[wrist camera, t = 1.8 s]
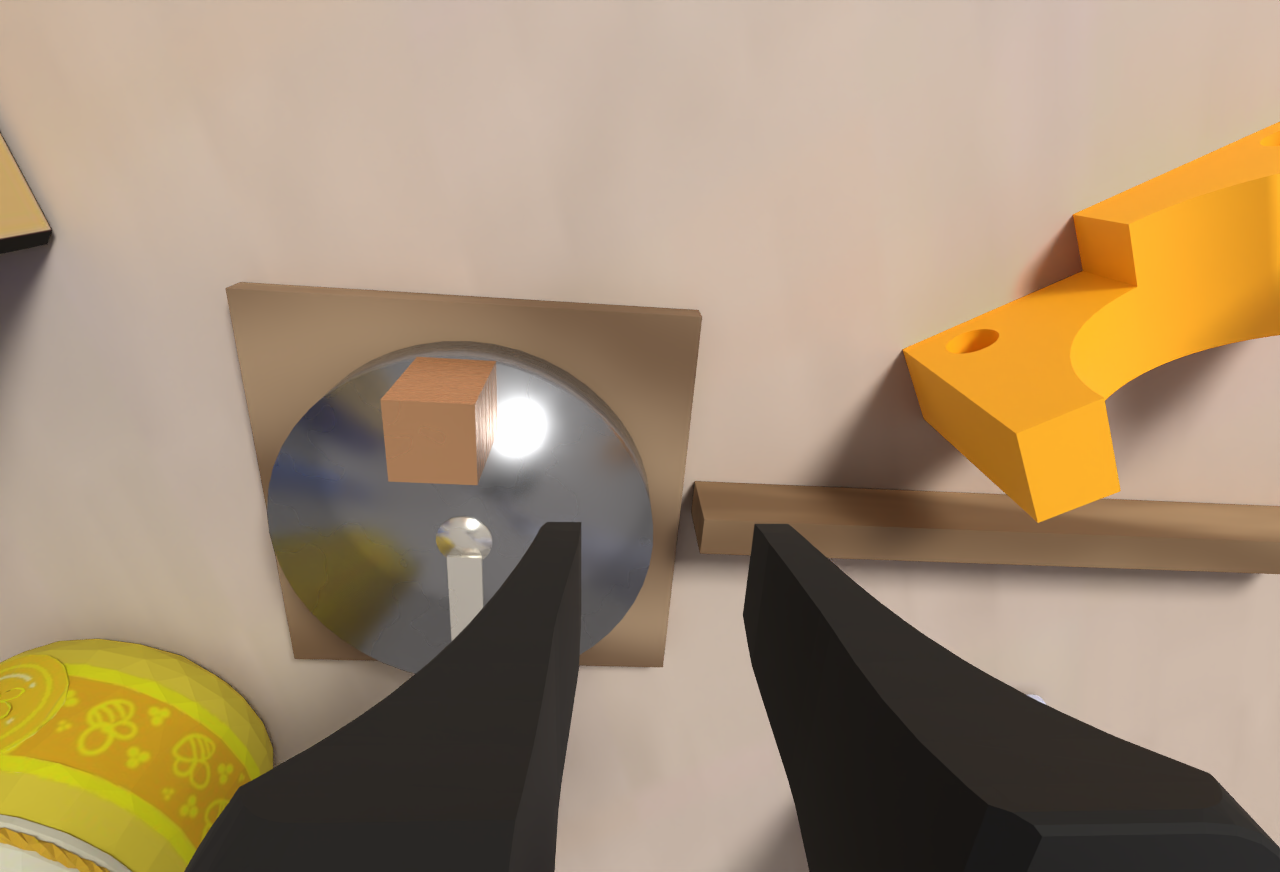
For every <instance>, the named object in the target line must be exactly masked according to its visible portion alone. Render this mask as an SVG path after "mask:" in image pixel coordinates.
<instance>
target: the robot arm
mask: <svg viewBox="0 0 1280 872" xmlns="http://www.w3.org/2000/svg"><path fill="white" fill-rule="evenodd" d="M743 618H744V624H745V630H746V636H747V642H748V647H749V652H750V658H751V663H752V667H753V670H754V674H755V677H756V680H757V684H758V687H759V690H760V693H761V696H762V700H763V703H764V706H765V709H766V712H767V715H768V718H769V722H770V725H771V728H772V731H773V734H774V737H775V740H776V743H777V747H778V750H779V753H780V756H781V759H782V762H783V765H784V768H785V772H786V775H787V778H788V781H789V785H790V788H791V792H792V796H793V799H794V803H795V807H796V811H797V815H798V820H799V825H800V829H801V834H802V839H803V843H804V848H805V853H806V857H807V862H808V867H809V872H1280V848H1279V846H1278V845H1277V844H1276V843H1275V842H1274V841H1273V840H1272V839H1271V838H1270V837H1269V836H1268V835H1267V834H1266V833H1265V832H1264V830H1263V829H1262V828H1261V827H1260V826H1259V825H1258V824H1257V823H1256V822H1255V821H1254V820H1253V819H1252V818H1251V817H1250V815H1249V814H1248V813H1247V812H1246V811H1245V810H1244V809H1243V808H1242V807H1241V806H1240V805H1239V804H1238V803H1237V802H1236V801H1235V799H1234V798H1233V797H1232V796H1231V795H1230V794H1229V793H1228V792H1227V791H1226V790H1225V789H1224V788H1223V787H1222V786H1221V785H1220V783H1219V782H1218V781H1217V780H1216V779H1215V778H1214V777H1213V776H1212V775H1211V774H1209V773H1207V772H1204V771H1202V770H1199V769H1197V768H1194V767H1192V766H1189V765H1186V764H1184V763H1181V762H1179V761H1176V760H1174V759H1171V758H1168V757H1166V756H1163V755H1161V754H1158V753H1156V752H1153V751H1151V750H1148V749H1145V748H1143V747H1140V746H1138V745H1135V744H1133V743H1130V742H1127V741H1125V740H1122V739H1120V738H1117V737H1115V736H1113V735H1110V734H1108V733H1106V732H1104V731H1101V730H1099V729H1097V728H1095V727H1093V726H1090V725H1088V724H1086V723H1084V722H1082V721H1079V720H1077V719H1075V718H1073V717H1071V716H1068V715H1066V714H1064V713H1062V712H1060V711H1058V710H1056V709H1054V708H1052V707H1050V706H1047V705H1046V703H1045V702H1044V701H1043V699H1042V698H1041V697H1040V696H1037V695H1025V694H1024V693H1022V692H1020V691H1018V690H1016V689H1014V688H1012V687H1011V686H1009V685H1007V684H1005V683H1003V682H1001V681H1000V680H998V679H996V678H994V677H992V676H990V675H989V674H987V673H985V672H983V671H981V670H980V669H978V668H976V667H975V666H973V665H971V664H969V663H968V662H966V661H964V660H963V659H961V658H960V657H958V656H956V655H955V654H953V653H952V652H950V651H949V650H947V649H946V648H944V647H942V646H941V645H939V644H938V643H936V642H935V641H933V640H931V639H930V638H928V637H927V636H925V635H924V634H922V633H921V632H920V631H918V630H917V629H915V628H914V627H912V626H911V625H910V624H908V623H907V622H905V621H904V620H903V619H901V618H900V617H899V616H897V615H896V614H895V613H893V612H892V611H891V610H889V609H888V608H887V607H885V606H884V605H883V604H881V603H880V602H879V601H878V600H876V599H875V598H874V597H873V596H871V595H870V594H869V593H868V592H866V591H865V590H864V589H863V588H862V587H860V586H859V585H858V584H857V583H855V582H854V581H853V580H852V579H851V578H850V577H848V576H847V575H846V574H845V573H844V572H843V571H841V570H840V569H839V568H838V567H837V566H836V565H835V564H833V563H832V562H831V561H830V560H829V559H828V558H827V557H826V556H824V555H823V554H822V553H821V552H820V551H819V550H818V549H817V548H815V547H814V546H813V545H812V544H811V543H810V542H809V541H808V540H807V539H805V538H804V537H803V536H802V535H801V534H800V533H799V532H797V531H796V530H795V529H794V528H793V527H792V526H790V525H789V524H754V532H753V540H752V548H751V556H750V564H749V572H748V580H747V587H746V595H745V603H744V611H743ZM580 636H581V522H546V523H545V524H544V525H543V526H542V527H540V529H539V531H538V533H537V535H536V537H535V538H534V540H533V542H532V543H531V545H530V547H529V548H528V550H527V551H526V553H525V554H524V556H523V557H522V559H521V560H520V562H519V563H518V564H517V566H516V567H515V568H514V570H513V571H512V572H511V574H510V575H509V576H508V578H507V579H506V580H505V582H504V583H503V584H502V586H501V587H500V588H499V590H498V591H497V592H496V593H495V594H494V596H493V597H492V598H491V599H490V600H489V601H488V603H487V604H486V605H485V606H484V607H483V608H482V609H481V611H480V612H479V613H478V614H477V615H476V616H475V617H474V619H473V620H472V621H471V622H470V623H469V624H468V625H467V626H466V627H465V628H464V629H463V630H462V631H461V632H460V634H459V635H458V636H457V637H456V638H455V639H454V640H453V641H452V642H451V643H449V644H448V645H447V646H446V647H445V648H444V649H443V650H442V651H441V652H440V653H439V654H438V655H437V656H436V657H435V658H433V659H432V660H431V661H430V662H429V663H428V664H427V665H425V666H424V667H423V668H422V669H421V670H420V671H418V672H417V673H416V674H415V675H414V676H412V677H411V678H410V679H409V680H408V681H406V682H405V683H404V684H403V685H401V686H400V687H399V688H398V689H396V690H395V691H394V692H393V693H391V694H390V695H389V696H388V697H386V698H385V699H383V700H382V701H381V702H379V703H378V704H376V705H375V706H374V707H372V708H371V709H369V710H368V711H366V712H365V713H364V714H362V715H361V716H359V717H358V718H356V719H355V720H353V721H352V722H350V723H349V724H347V725H346V726H344V727H342V728H341V729H339V730H338V731H336V732H335V733H333V734H332V735H330V736H329V737H327V738H325V739H324V740H322V741H320V742H319V743H317V744H316V745H314V746H312V747H310V748H309V749H307V750H305V751H303V752H302V753H300V754H298V755H296V756H294V757H293V758H291V759H289V760H287V761H286V762H284V763H282V764H280V765H279V766H277V767H275V768H273V769H271V770H270V771H268V772H266V773H264V774H263V775H261V776H259V777H257V778H255V779H253V780H252V781H250V782H248V783H246V784H244V785H242V786H240V787H239V788H238V789H237V791H236V792H235V794H234V796H233V797H232V799H231V800H230V802H229V803H228V804H227V806H226V807H225V808H224V810H223V811H222V813H221V814H220V815H219V817H218V818H217V819H216V821H215V822H214V823H213V825H212V826H211V828H210V830H209V831H208V833H207V834H206V836H205V837H204V839H203V840H202V842H201V843H200V845H199V847H198V848H197V850H196V852H195V853H194V855H193V857H192V859H191V860H190V862H189V864H188V866H187V867H186V869H185V871H184V872H554V870H555V853H556V837H557V821H558V808H559V799H560V790H561V782H562V776H563V769H564V763H565V756H566V750H567V743H568V737H569V730H570V724H571V717H572V711H573V704H574V697H575V691H576V684H577V677H578V671H579V659H580Z"/></svg>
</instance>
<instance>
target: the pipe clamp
mask: <svg viewBox="0 0 1280 872" xmlns="http://www.w3.org/2000/svg"><path fill="white" fill-rule="evenodd" d="M1073 218H1074V224H1075V229H1076V235H1077V241H1078V247H1079V252H1080V258H1081V264H1082V270H1083V271H1081V272H1079V273H1077V274H1074V275H1072V276H1070V277H1067V278H1065V279H1063V280H1061V281H1058V282H1056V283H1054V284H1051V285H1049V286H1047V287H1045V288H1042V289H1040V290H1038V291H1035V292H1033V293H1031V294H1028V295H1026V296H1024V297H1022V298H1019V299H1017V300H1015V301H1012V302H1010V303H1008V304H1006V305H1003V306H1001V307H999V308H996V309H994V310H992V311H989V312H987V313H985V314H983V315H980V316H978V317H976V318H973V319H971V320H969V321H967V322H964V323H962V324H960V325H957V326H955V327H953V328H951V329H948V330H946V331H944V332H941V333H939V334H937V335H934V336H932V337H930V338H928V339H925V340H923V341H921V342H918V343H916V344H914V345H912V346H909V347H907V348H905V349H902V350H903V353H904V356H905V359H906V363H907V366H908V369H909V372H910V376H911V379H912V382H913V385H914V389H915V392H916V395H917V398H918V402H919V405H920V408H921V411H922V415H923V418H924V420H925V421H927V422H928V423H929V424H930V425H931V426H932V427H933V428H934V429H935V430H936V431H938V432H939V433H940V434H941V435H942V436H943V437H944V438H945V439H946V440H947V441H949V442H950V443H951V444H952V445H953V446H954V447H955V448H956V449H957V450H958V451H960V452H961V453H962V454H963V455H964V456H965V457H966V458H967V459H968V460H969V461H970V462H972V463H973V464H974V465H975V466H976V467H977V468H978V469H979V470H980V471H981V472H983V473H984V474H985V475H986V476H987V477H988V478H989V479H990V480H991V481H992V482H994V483H995V484H996V485H997V486H998V487H999V488H1000V489H1001V490H1002V491H1003V492H1005V493H1006V494H1007V495H1008V496H1009V497H1010V498H1011V499H1012V500H1013V501H1014V502H1015V503H1017V504H1018V505H1019V506H1020V507H1021V508H1022V509H1023V510H1024V511H1025V512H1026V513H1028V514H1029V515H1030V516H1031V517H1032V518H1033V519H1034V520H1035V521H1036V522H1037V523H1039V522H1042V521H1044V520H1047V519H1050V518H1052V517H1055V516H1057V515H1060V514H1063V513H1065V512H1068V511H1070V510H1073V509H1076V508H1078V507H1081V506H1083V505H1086V504H1088V503H1091V502H1094V501H1096V500H1099V499H1101V498H1104V497H1107V496H1109V495H1112V494H1114V493H1117V492H1120V485H1119V479H1118V473H1117V468H1116V462H1115V456H1114V451H1113V445H1112V439H1111V433H1110V428H1109V422H1108V416H1107V411H1106V405H1105V400H1106V399H1107V398H1108V397H1109V396H1110V395H1112V394H1113V393H1114V392H1115V391H1116V390H1118V389H1119V388H1120V387H1122V386H1123V385H1125V384H1126V383H1128V382H1129V381H1131V380H1133V379H1134V378H1136V377H1138V376H1140V375H1141V374H1143V373H1145V372H1147V371H1149V370H1151V369H1154V368H1156V367H1158V366H1160V365H1163V364H1165V363H1168V362H1170V361H1172V360H1175V359H1178V358H1181V357H1184V356H1187V355H1190V354H1193V353H1196V352H1200V351H1203V350H1206V349H1210V348H1214V347H1218V346H1222V345H1226V344H1230V343H1235V342H1240V341H1245V340H1250V339H1256V338H1263V337H1269V336H1276V335H1280V122H1278V123H1276V124H1274V125H1271V126H1269V127H1267V128H1265V129H1262V130H1260V131H1258V132H1256V133H1253V134H1251V135H1249V136H1247V137H1245V138H1242V139H1240V140H1238V141H1236V142H1233V143H1231V144H1229V145H1227V146H1225V147H1222V148H1220V149H1218V150H1216V151H1213V152H1211V153H1209V154H1207V155H1204V156H1202V157H1200V158H1198V159H1196V160H1193V161H1191V162H1189V163H1187V164H1184V165H1182V166H1180V167H1178V168H1176V169H1173V170H1171V171H1169V172H1167V173H1164V174H1162V175H1160V176H1158V177H1155V178H1153V179H1151V180H1149V181H1147V182H1144V183H1142V184H1140V185H1138V186H1135V187H1133V188H1131V189H1129V190H1127V191H1124V192H1122V193H1120V194H1118V195H1115V196H1113V197H1111V198H1109V199H1106V200H1104V201H1102V202H1100V203H1098V204H1095V205H1093V206H1091V207H1089V208H1086V209H1084V210H1082V211H1080V212H1078V213H1075V214H1073Z"/></svg>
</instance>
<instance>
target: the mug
mask: <svg viewBox="0 0 1280 872" xmlns="http://www.w3.org/2000/svg"><path fill="white" fill-rule="evenodd" d="M271 769H273V747H272V745H271V742H270V739H269V737H268V734H267V732H266V729H265V726H264V724H263V722H262V721H261V720H260V718H259V717H258V716H257V715H256V713H255V712H254V711H253V709H252V708H251V707H250V706H249V704H248V703H247V702H246V700H245V699H244V698H243V697H242V696H241V695H240V694H239V693H238V692H236V691H235V690H234V689H233V688H232V687H231V686H230V685H229V684H228V683H226V682H225V681H223V680H222V679H220V678H219V677H217V676H216V675H214V674H212V673H210V672H209V671H207V670H205V669H204V668H202V667H200V666H198V665H197V664H195V663H193V662H192V661H190V660H188V659H186V658H185V657H183V656H180V655H177V654H173V653H170V652H166V651H162V650H159V649H155V648H152V647H148V646H144V645H141V644H134V643H127V642H119V641H111V640H103V639H86V640H70V641H58V642H55V643H51V644H48V645H45V646H41V647H38V648H35V649H31V650H28V651H25V652H23V653H20V654H18V655H16V656H13V657H11V658H9V659H7V660H5V661H3V662H1V663H0V872H184V871H185V869H186V867H187V866H188V864H189V862H190V860H191V859H192V857H193V855H194V853H195V852H196V850H197V848H198V847H199V845H200V843H201V842H202V840H203V839H204V837H205V836H206V834H207V833H208V831H209V830H210V828H211V826H212V825H213V823H214V822H215V821H216V819H217V818H218V817H219V815H220V814H221V813H222V811H223V810H224V808H225V807H226V806H227V804H228V803H229V802H230V800H231V799H232V797H233V796H234V794H235V792H236V791H237V789H238V788H239V787H240V786H242V785H244V784H246V783H248V782H250V781H252V780H253V779H255V778H257V777H259V776H261V775H263V774H264V773H266V772H268V771H270V770H271Z"/></svg>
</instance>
